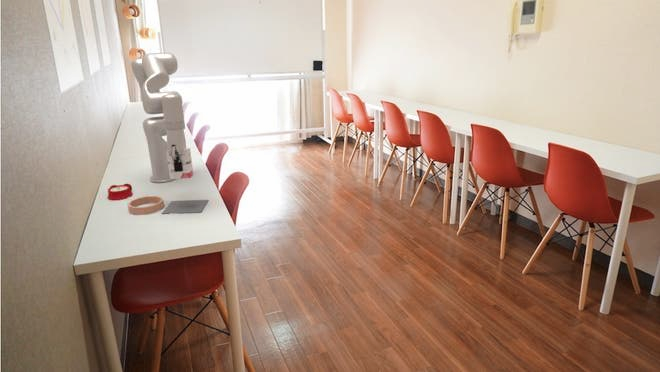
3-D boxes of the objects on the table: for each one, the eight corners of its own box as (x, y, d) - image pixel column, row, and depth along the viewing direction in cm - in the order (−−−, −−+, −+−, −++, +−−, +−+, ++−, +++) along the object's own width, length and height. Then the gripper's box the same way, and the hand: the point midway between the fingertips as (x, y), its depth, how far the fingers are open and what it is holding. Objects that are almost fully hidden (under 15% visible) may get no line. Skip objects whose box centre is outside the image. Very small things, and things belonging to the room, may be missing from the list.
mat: (171, 201, 192) (171, 200, 192) (208, 200, 193) (208, 199, 193) (161, 214, 179) (161, 213, 179) (201, 212, 179) (200, 211, 179)
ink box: (194, 174, 184) (190, 147, 180) (190, 178, 179) (187, 150, 175) (173, 175, 184) (169, 147, 180) (169, 179, 179) (165, 150, 175)
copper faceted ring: (136, 202, 191) (135, 196, 190) (167, 201, 192) (166, 195, 191) (123, 215, 179) (122, 208, 178) (157, 213, 179) (156, 207, 178)
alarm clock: (104, 195, 192) (107, 178, 204) (107, 206, 195) (109, 189, 207) (130, 191, 195) (131, 175, 207) (133, 203, 198) (133, 186, 210)
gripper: (171, 121, 182) (177, 163, 188) (158, 130, 166) (165, 175, 172) (190, 121, 183) (195, 163, 188) (178, 129, 166) (184, 175, 172)
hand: (180, 168), depth 180 cm, fingers closed on ink box, 5 cm apart
